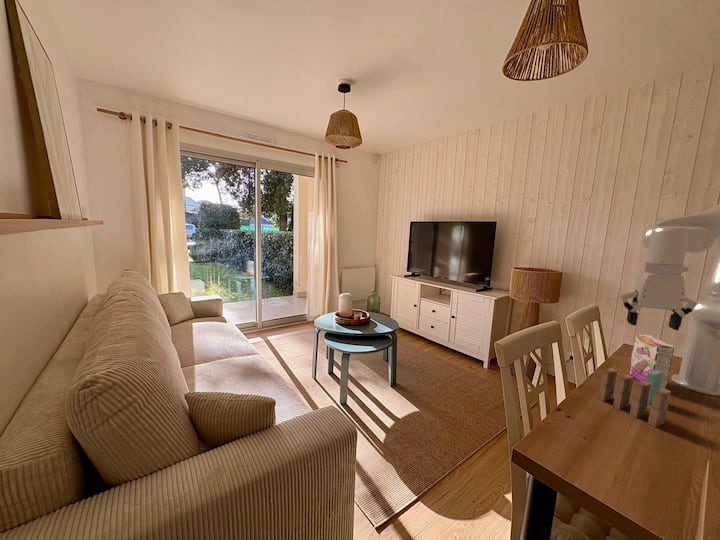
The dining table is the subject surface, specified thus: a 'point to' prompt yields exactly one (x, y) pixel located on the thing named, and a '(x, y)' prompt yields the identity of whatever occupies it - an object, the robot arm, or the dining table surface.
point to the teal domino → (654, 382)
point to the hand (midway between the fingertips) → (652, 326)
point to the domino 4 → (659, 407)
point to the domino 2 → (623, 391)
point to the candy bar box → (650, 358)
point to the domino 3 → (640, 399)
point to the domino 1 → (607, 384)
